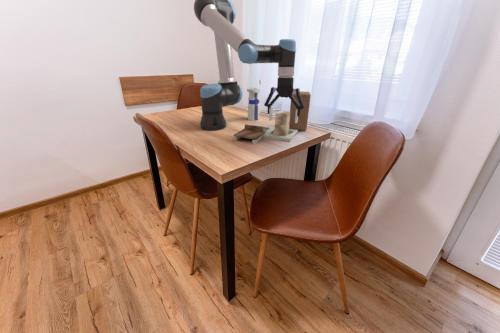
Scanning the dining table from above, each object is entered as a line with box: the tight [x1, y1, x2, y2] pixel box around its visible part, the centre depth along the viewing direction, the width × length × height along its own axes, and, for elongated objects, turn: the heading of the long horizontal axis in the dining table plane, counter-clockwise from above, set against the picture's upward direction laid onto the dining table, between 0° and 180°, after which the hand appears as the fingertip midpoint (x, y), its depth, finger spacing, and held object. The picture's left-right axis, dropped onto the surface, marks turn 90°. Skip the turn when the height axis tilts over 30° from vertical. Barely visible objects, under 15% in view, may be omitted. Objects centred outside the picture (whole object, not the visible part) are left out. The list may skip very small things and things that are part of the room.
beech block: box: [273, 110, 290, 137], centre depth 113 cm, size 6×6×12 cm
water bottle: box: [246, 80, 262, 121], centre depth 141 cm, size 8×9×25 cm
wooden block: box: [289, 91, 311, 132], centre depth 123 cm, size 10×10×20 cm
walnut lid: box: [233, 123, 265, 140], centre depth 110 cm, size 12×12×3 cm
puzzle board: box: [233, 123, 299, 145], centre depth 114 cm, size 27×26×2 cm
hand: (283, 121), depth 112 cm, fingers open, 13 cm apart
